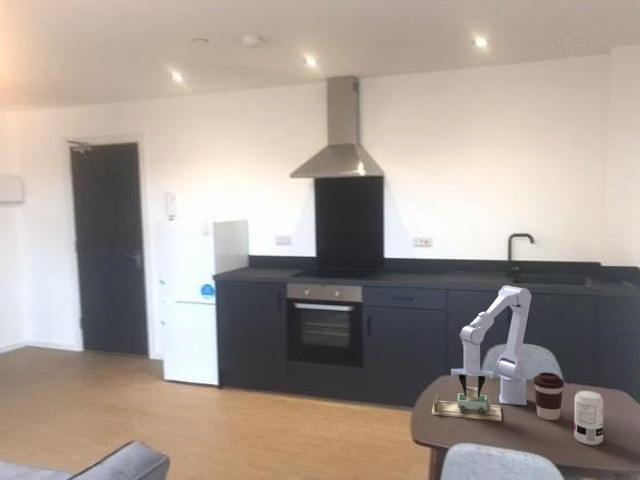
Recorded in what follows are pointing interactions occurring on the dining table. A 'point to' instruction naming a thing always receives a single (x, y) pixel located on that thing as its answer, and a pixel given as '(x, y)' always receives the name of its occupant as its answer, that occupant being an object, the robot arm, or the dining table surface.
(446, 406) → the track board
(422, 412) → the dining table surface
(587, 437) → the supplement can
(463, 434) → the dining table surface
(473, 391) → the block
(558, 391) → the coffee cup
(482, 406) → the cart
